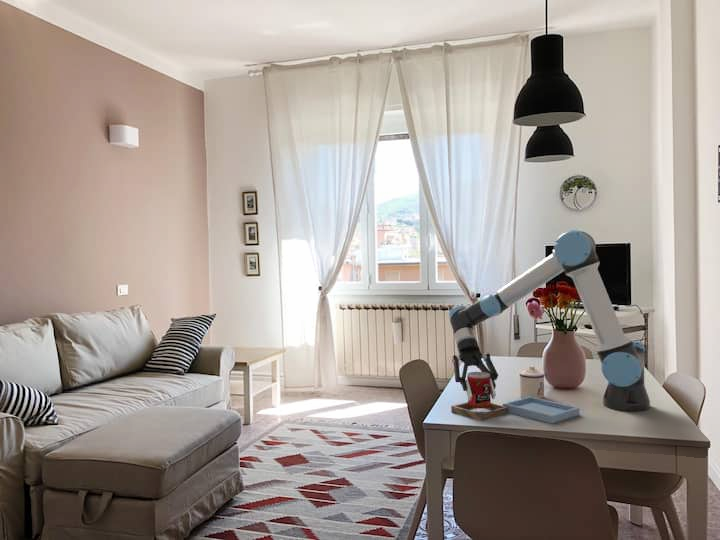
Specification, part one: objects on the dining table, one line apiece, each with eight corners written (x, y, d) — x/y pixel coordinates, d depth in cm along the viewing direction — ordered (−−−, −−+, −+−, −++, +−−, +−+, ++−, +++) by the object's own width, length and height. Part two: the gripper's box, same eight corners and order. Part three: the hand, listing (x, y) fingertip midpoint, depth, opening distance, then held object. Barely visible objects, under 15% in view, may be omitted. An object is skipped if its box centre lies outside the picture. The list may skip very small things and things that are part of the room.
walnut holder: (508, 412, 203) (507, 407, 203) (481, 420, 194) (481, 414, 194) (477, 405, 213) (477, 399, 213) (451, 411, 205) (451, 406, 205)
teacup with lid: (543, 400, 217) (543, 369, 217) (518, 398, 221) (517, 368, 221) (546, 393, 228) (546, 363, 228) (522, 391, 232) (522, 362, 232)
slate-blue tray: (579, 415, 198) (579, 407, 198) (552, 423, 189) (552, 416, 189) (529, 403, 214) (529, 396, 214) (502, 410, 205) (502, 403, 205)
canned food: (477, 409, 199) (477, 377, 198) (463, 404, 206) (462, 373, 205) (495, 406, 202) (494, 374, 202) (480, 401, 209) (479, 370, 209)
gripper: (491, 347, 220) (508, 401, 204) (438, 350, 217) (451, 405, 202) (496, 335, 214) (514, 389, 199) (441, 338, 212) (454, 393, 196)
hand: (482, 397), depth 200 cm, fingers closed on canned food, 8 cm apart
